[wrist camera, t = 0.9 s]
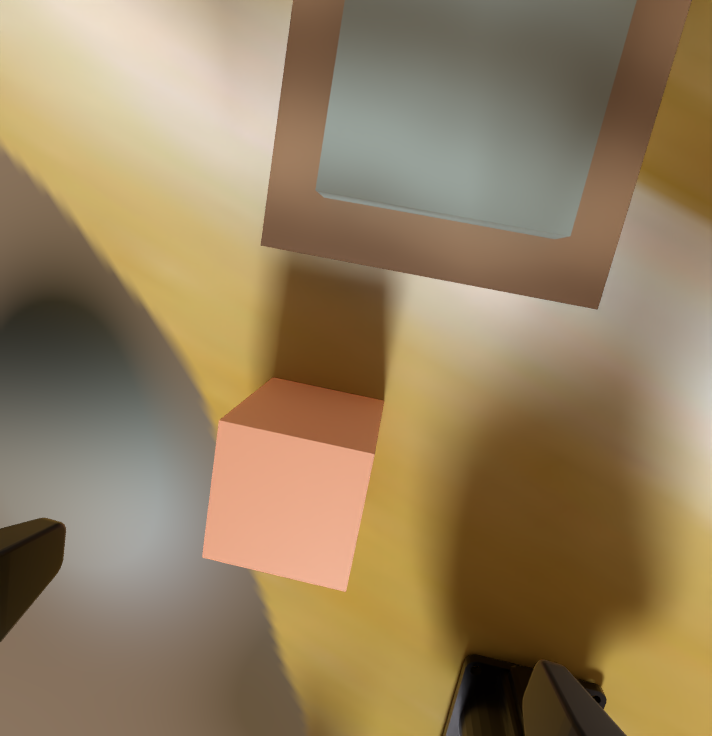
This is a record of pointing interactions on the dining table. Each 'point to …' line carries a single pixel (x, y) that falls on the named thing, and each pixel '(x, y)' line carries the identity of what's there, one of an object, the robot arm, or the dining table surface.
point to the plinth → (458, 243)
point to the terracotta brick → (292, 481)
